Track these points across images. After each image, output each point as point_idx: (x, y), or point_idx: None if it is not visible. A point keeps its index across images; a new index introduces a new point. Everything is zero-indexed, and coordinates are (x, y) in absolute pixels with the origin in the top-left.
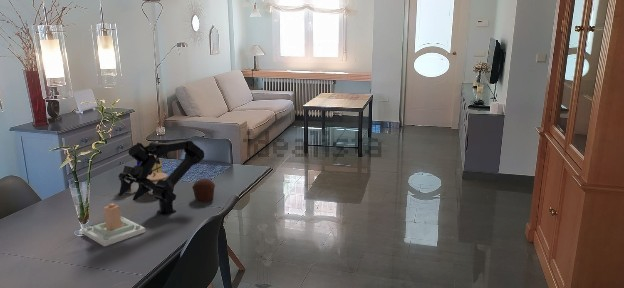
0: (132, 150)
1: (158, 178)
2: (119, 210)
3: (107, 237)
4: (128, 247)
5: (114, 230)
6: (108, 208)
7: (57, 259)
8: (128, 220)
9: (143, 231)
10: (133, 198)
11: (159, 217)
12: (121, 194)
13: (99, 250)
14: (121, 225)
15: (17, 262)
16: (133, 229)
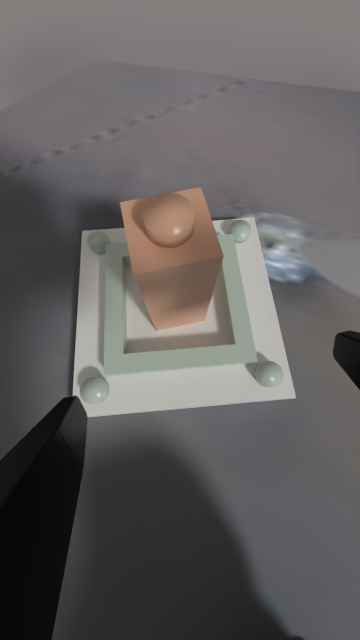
0: None
1: None
2: (139, 287)
3: (88, 241)
4: (10, 296)
5: (115, 277)
6: (147, 198)
7: (116, 137)
8: (227, 398)
9: None
10: (59, 405)
11: (209, 603)
12: (353, 363)
13: (75, 223)
14: (155, 327)
15: (175, 84)
16: (97, 364)
